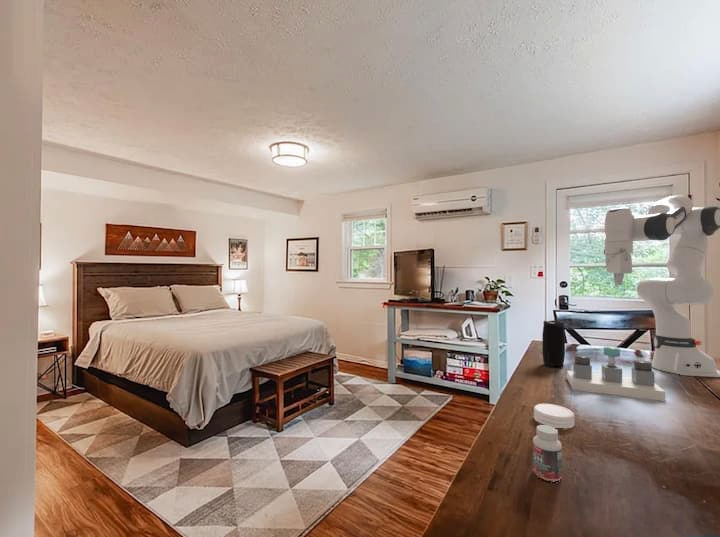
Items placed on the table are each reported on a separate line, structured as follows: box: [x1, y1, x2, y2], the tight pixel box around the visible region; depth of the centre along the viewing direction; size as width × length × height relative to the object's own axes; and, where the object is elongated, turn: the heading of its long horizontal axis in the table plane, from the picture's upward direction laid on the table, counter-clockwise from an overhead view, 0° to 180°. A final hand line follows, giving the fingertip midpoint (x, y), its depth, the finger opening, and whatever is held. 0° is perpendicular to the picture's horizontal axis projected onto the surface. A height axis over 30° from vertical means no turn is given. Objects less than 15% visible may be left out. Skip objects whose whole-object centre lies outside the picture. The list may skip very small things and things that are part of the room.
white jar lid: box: [533, 403, 575, 430], centre depth 99 cm, size 10×10×4 cm
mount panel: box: [566, 360, 666, 402], centre depth 126 cm, size 26×14×8 cm, turn 67°
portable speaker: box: [541, 320, 566, 368], centre depth 155 cm, size 9×9×20 cm
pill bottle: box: [532, 424, 563, 481], centre depth 73 cm, size 5×5×10 cm
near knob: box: [633, 359, 653, 371], centre depth 122 cm, size 5×5×6 cm
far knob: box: [574, 354, 591, 365], centre depth 129 cm, size 5×5×6 cm
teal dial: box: [603, 346, 621, 367], centre depth 126 cm, size 5×5×7 cm
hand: (618, 285), depth 136 cm, fingers closed
